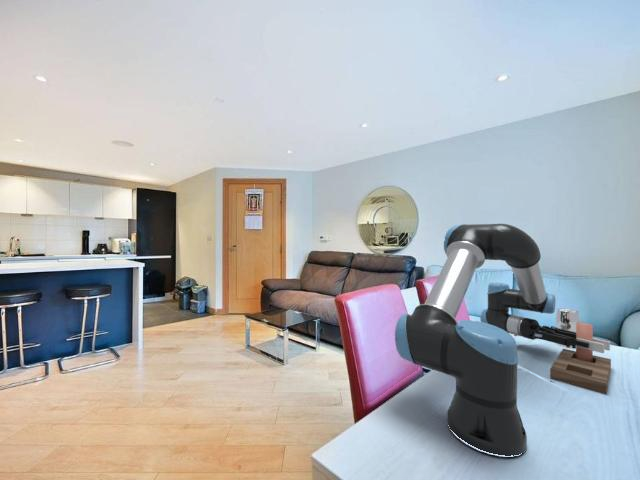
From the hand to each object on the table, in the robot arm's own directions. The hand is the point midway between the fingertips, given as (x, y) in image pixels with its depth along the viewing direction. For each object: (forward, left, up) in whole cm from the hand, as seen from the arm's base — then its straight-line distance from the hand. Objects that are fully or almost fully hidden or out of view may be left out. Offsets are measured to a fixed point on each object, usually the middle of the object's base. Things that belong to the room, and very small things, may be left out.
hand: (606, 347), depth 89 cm
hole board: (-7, +2, -9) cm, 12 cm away
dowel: (-2, +5, -8) cm, 10 cm away
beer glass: (+13, +23, -10) cm, 28 cm away
